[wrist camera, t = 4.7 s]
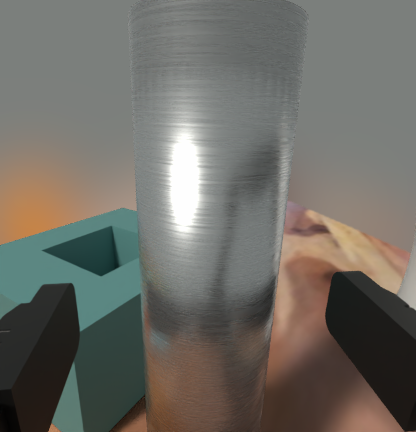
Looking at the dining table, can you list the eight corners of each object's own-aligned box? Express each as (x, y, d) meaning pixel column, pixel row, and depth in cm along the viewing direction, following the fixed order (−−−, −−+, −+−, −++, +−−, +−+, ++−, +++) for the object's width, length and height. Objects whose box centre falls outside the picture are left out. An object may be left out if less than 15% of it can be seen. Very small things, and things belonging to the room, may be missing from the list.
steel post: (188, 448, 15) (195, 47, 10) (263, 500, 13) (327, 34, 8) (130, 535, 12) (87, 10, 6) (216, 622, 10) (267, -29, 4)
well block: (126, 270, 32) (122, 207, 30) (225, 310, 26) (230, 235, 24) (-27, 352, 21) (-51, 260, 19) (86, 454, 15) (70, 337, 13)
